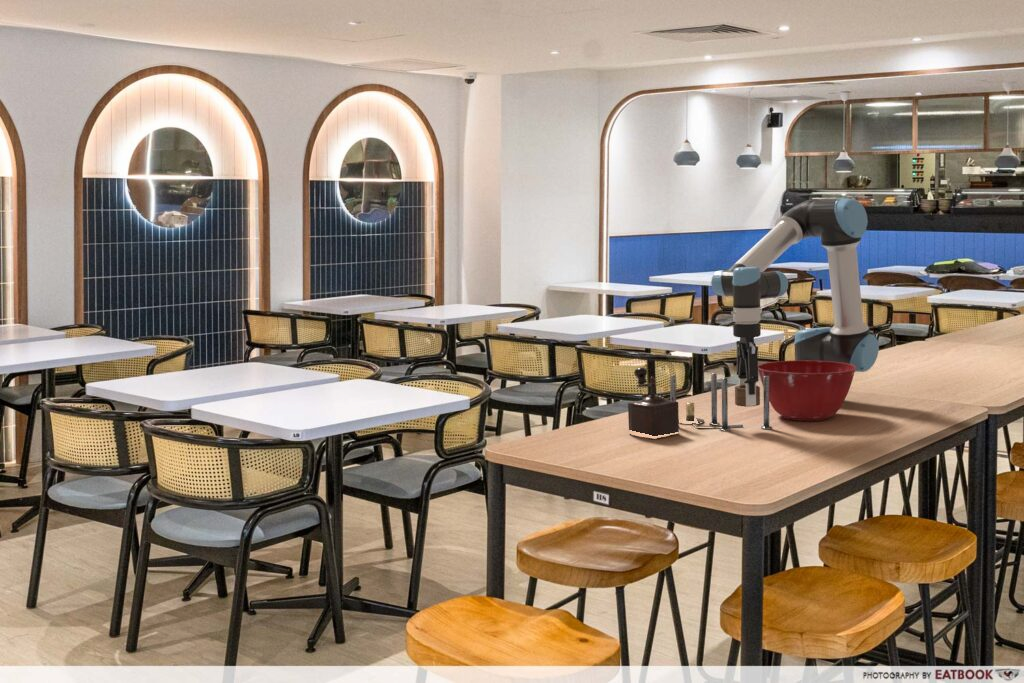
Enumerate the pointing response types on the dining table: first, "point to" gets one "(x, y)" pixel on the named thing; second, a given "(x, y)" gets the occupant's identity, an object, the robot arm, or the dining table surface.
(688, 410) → the brass peg
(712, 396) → the wire course
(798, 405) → the mixing bowl
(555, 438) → the dining table surface
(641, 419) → the brown coffee grinder
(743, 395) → the napkin ring
